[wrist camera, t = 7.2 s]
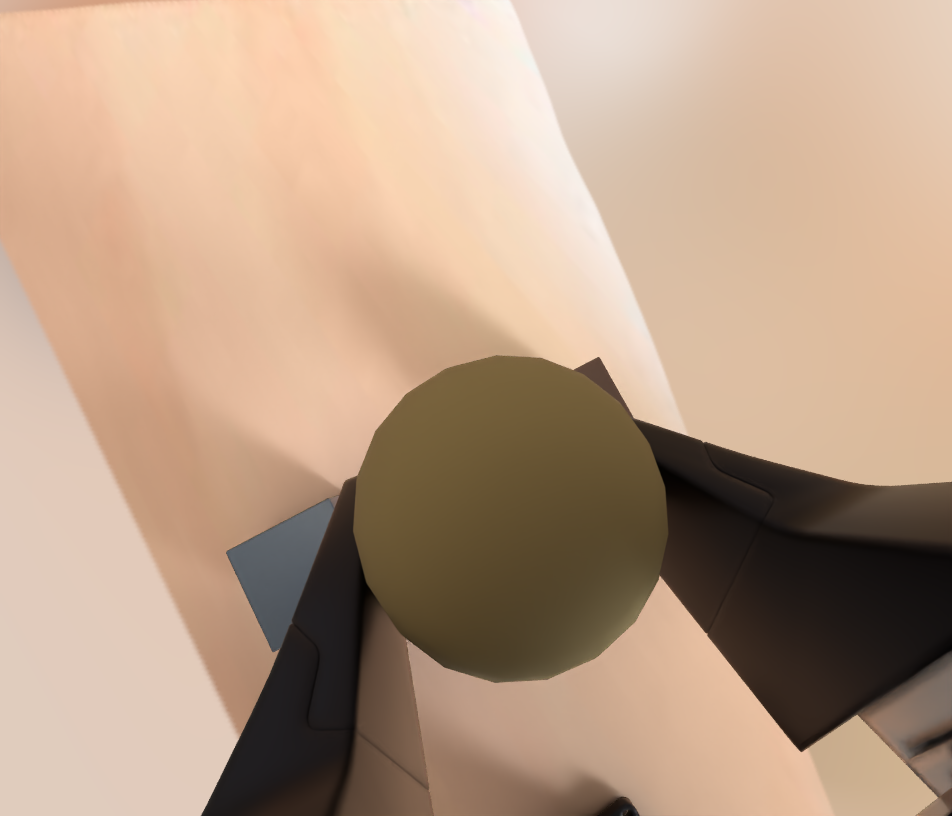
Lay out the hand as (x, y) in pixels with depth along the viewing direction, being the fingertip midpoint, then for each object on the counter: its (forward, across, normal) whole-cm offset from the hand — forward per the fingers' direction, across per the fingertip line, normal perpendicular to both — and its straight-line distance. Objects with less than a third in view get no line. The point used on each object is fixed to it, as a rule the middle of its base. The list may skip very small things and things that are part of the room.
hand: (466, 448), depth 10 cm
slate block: (+6, +6, +9) cm, 13 cm away
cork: (+4, 0, +6) cm, 7 cm away
